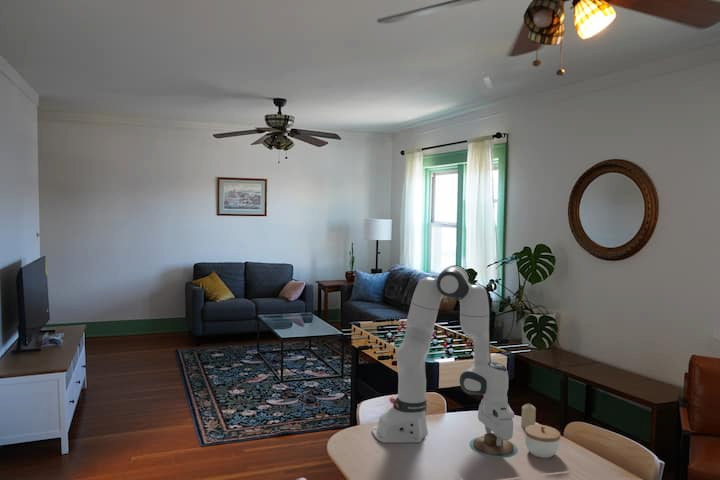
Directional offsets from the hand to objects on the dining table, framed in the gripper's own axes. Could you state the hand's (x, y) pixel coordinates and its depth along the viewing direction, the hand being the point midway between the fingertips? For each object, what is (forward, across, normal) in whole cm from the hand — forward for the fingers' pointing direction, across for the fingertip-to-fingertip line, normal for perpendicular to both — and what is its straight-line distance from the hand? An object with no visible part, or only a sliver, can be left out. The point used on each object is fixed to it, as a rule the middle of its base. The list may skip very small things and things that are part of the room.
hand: (493, 441), depth 213 cm
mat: (+3, 0, 0) cm, 3 cm away
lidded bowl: (+3, +9, +15) cm, 18 cm away
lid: (+2, 0, 0) cm, 2 cm away
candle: (+3, -14, +24) cm, 28 cm away
